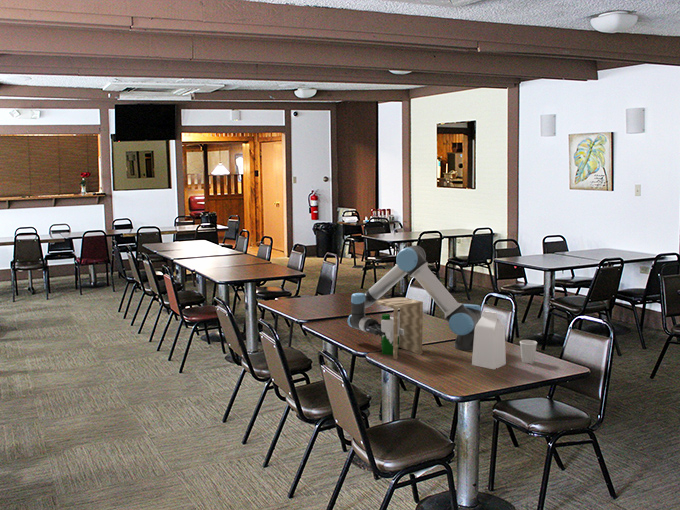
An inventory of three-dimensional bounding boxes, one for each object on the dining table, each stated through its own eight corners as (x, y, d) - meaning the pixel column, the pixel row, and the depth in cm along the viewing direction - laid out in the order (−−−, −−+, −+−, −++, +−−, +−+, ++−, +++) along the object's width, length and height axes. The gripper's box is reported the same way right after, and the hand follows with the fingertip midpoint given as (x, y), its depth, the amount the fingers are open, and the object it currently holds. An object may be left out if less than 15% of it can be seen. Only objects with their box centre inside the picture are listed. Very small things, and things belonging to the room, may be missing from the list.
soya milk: (383, 350, 363) (382, 312, 360) (400, 351, 361) (400, 313, 358) (380, 355, 355) (379, 316, 352) (397, 356, 353) (397, 317, 350)
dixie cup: (523, 364, 338) (523, 344, 336) (516, 359, 346) (516, 340, 344) (539, 363, 339) (540, 343, 338) (532, 359, 347) (532, 339, 346)
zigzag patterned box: (375, 352, 360) (375, 300, 356) (401, 347, 370) (402, 296, 367) (395, 359, 347) (395, 305, 344) (422, 353, 357) (422, 301, 354)
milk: (471, 364, 337) (473, 312, 334) (483, 359, 346) (485, 308, 343) (494, 369, 330) (495, 315, 326) (505, 364, 338) (507, 311, 335)
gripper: (384, 329, 378) (412, 337, 359) (353, 335, 366) (381, 344, 347) (384, 316, 377) (412, 323, 358) (353, 321, 365) (381, 329, 347)
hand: (397, 333), depth 353 cm, fingers closed on soya milk, 8 cm apart
